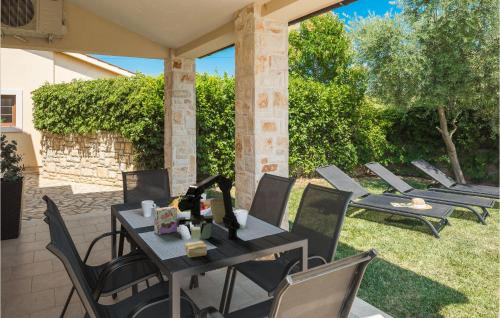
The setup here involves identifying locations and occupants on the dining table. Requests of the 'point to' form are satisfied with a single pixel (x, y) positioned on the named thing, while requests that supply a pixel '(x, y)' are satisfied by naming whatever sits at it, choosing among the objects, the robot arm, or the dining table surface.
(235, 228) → the robot arm
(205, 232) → the grey green cup
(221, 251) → the dining table surface
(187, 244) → the oak block
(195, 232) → the sage cube
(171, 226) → the candy box
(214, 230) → the dining table surface
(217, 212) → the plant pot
